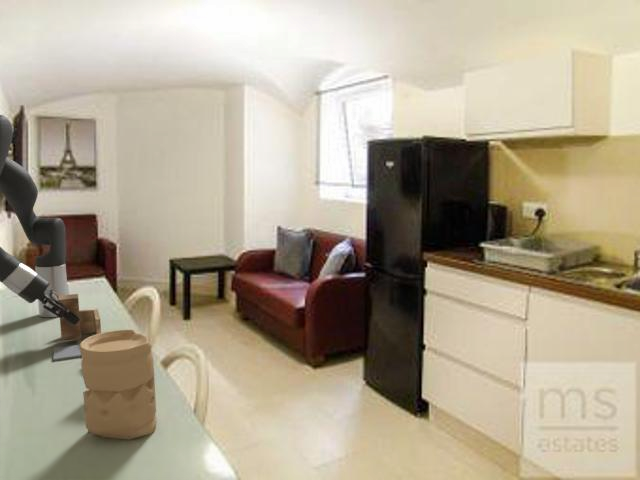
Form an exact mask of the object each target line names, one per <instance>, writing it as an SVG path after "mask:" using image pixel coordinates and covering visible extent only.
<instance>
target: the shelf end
mask: <svg viewBox="0 0 640 480" xmlns="http://www.w3.org/2000/svg"><path fill="white" fill-rule="evenodd" d="M79 314H80V328H81V335H82V334H89V333H90V334H91V333H94V335H96V334H99V333H102V328H101V327H102V325H101V324H102V323H101V318H100V317H101V316H100V312H99V308H91V309H90V308H89V309H79Z"/></svg>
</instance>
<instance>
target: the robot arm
mask: <svg viewBox="0 0 640 480" xmlns="http://www.w3.org/2000/svg"><path fill="white" fill-rule="evenodd" d="M13 135H14V128H13V125H12V123H11V121H10V120H9V118H8V116H6V115H3V114H0V192H1V193H2V195H3V197H4V198H5V200H6V201H7V202H8V204H9V206H10V207H11V208H12V210H13V212H14V214H15V215H16V217H17V219H18V221H19V223H20V226H21V227H22V230H23V232H24V233H25V236H26V239H28V241H29V242H30V243H31V244H32V245H35V246H49V251H47V252H46V253H44V254H41V255H39V256H36V257H35V258H34V265H35V267H34V268H35V270H34V269H33V268H31V267H30V266H29V265H26V264H24V263H23V262H21V261H20V260H18V259H17V258H16V257H15V256H13V255H12V254H10V253H9V252H7V251H5V250H4V248H3V247H1V246H0V283H2V284H3V285H4V286H5V287H6V288H7V289H9V290H10V291H11V292H13V293H14V294H16V295H17V296H19V297H20V298H21V299H23V300H24V301H25V302H27V303H28V304H32V303H35V301H36V300H37V304H38V315H39V317H40V318H57V317H58V318H59V319H60V318H63V317H64V318H65V319H67V320H68V321H70V322H71V323H72V324H74V325H75V324H76V323H77V322H78V321H79V320H80V318H79V317H78V316H76V315H75V314H73V313H72V312H70V311H69V309H67V308H66V307H64V306H63V303H62V302H60V301H59V296H62V295H70V291H69V284H68V278H67V264H66V263H67V262H66V258H67V247H66V246H67V244H66V243H67V242H66V241H67V240H66V238H67V235H66V225H65V222H64V220H63V219H62V218H59V217H39V216H38V215H36V213H35V211H34V206H35V204H36V202H37V198H38V196H39V195H38V194H39V193H38V192H39V191H38V187H37V185H36V183H35V181H34V180H33V177H32V176H31V175H30V173H29V172H28V171H27V169H25V168H24V167H23V166H22V165H21V164H19V163H17V162H16V161H14V160H13V159H12V158H10V157H8V154H9V151H10V149H11V145H12V141H13V137H14V136H13ZM59 309H61V310H62V311H61V312H59Z"/></svg>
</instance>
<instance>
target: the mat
mask: <svg viewBox="0 0 640 480" xmlns="http://www.w3.org/2000/svg"><path fill="white" fill-rule="evenodd" d="M77 358H79V359H80V358H83V357H82V355H81V353H80V344H75V345H68V346H62V347H54V348H53V362H57V361H64V360H72V359H77Z"/></svg>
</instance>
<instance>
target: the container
mask: <svg viewBox="0 0 640 480" xmlns="http://www.w3.org/2000/svg"><path fill="white" fill-rule="evenodd" d="M79 345H80V353H81V355H82V357H81V358H82V359H81V362H80V363H81V365H80V366H81V374H82V378H83V379H82V380H83V382H84V385H85V388H86V389H87V390H85V391H84V392H83V393H82V394H83V408H84V421H85V422H84V423H85V428H86V429H87V433H88V434H91V435H96V436H101V437H102V438H109V439H110V438H111V439H121V440H128V441H129V440H130V441H131V440H135V439H136V438H140V437H143V436H149V435H150V434H153V433H155V431H156V428H157V415H156V413H157V403H156V402H157V401H156V381H155V363H154V355H153V352H152V345H151V343H150V340H149V337H147V336H146V335H144V333H137V332H136V331H135V330H134V329H130V328H129V329H126V328H125V329H116V330H109V331H104V332H101V333H99V334H93V335H91V336H88V337H86V338H84V339H83V340H82V341H80V343H79Z"/></svg>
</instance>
